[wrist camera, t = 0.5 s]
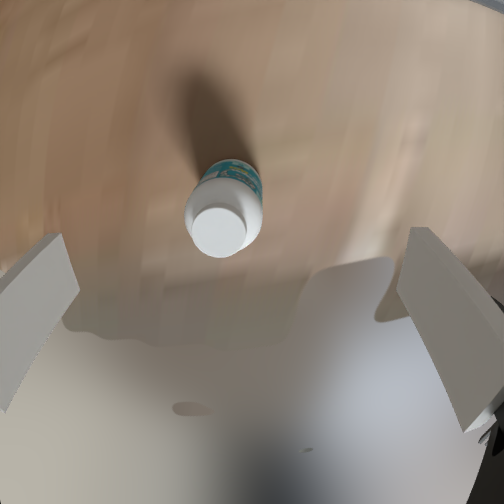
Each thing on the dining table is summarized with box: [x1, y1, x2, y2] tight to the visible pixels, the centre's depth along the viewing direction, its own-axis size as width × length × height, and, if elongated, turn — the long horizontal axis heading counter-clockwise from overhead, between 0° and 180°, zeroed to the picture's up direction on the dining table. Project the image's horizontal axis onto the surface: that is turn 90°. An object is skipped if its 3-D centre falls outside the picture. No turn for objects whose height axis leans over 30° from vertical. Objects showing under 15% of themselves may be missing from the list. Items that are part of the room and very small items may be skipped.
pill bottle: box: [184, 159, 263, 257], centre depth 32 cm, size 8×7×14 cm
